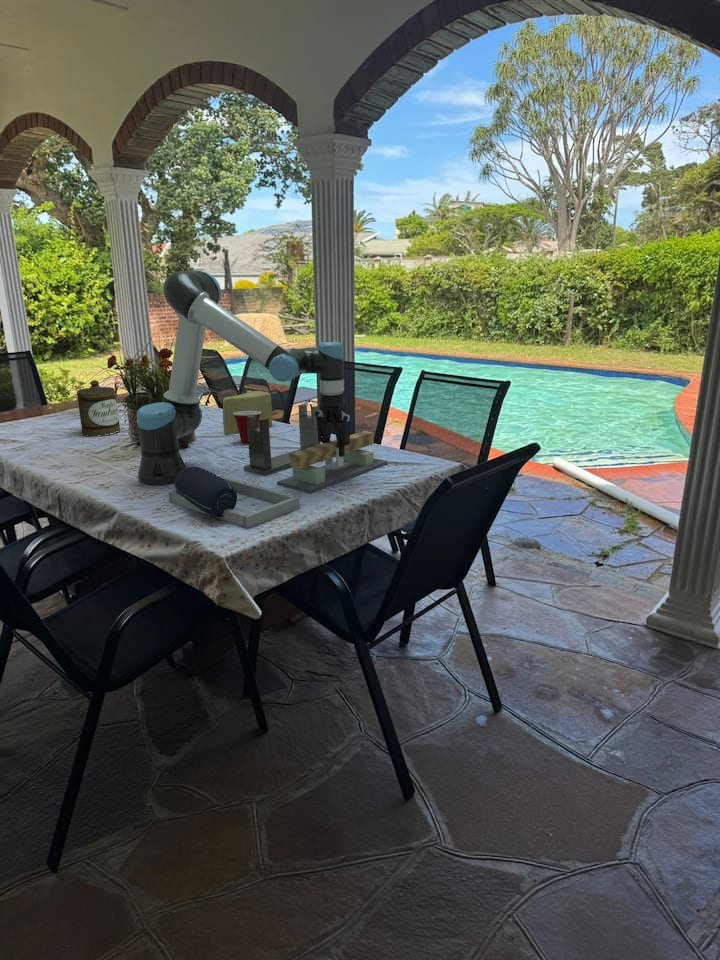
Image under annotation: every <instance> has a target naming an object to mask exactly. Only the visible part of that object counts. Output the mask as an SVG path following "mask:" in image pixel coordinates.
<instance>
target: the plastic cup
mask: <svg viewBox="0 0 720 960" xmlns="http://www.w3.org/2000/svg"><path fill="white" fill-rule="evenodd" d="M260 414H261V412H260V411H239V412H234V413H233V415H234V416H235V419H236V423H237V427H238V431H239V432H238V435H239V437H240V441H241V443H242V444H245V443H248V431H247V417H249V416H256V424H257V428H258V424H259V417H260Z"/></svg>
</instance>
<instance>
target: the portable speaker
mask: <svg viewBox="0 0 720 960" xmlns="http://www.w3.org/2000/svg"><path fill="white" fill-rule="evenodd" d="M219 476H220V475H216V474H215V473H213V472H210V471H208V470H206V469H205V468H201V467H199V466H188V467H187V466H186V468H184V469H183V470H181V471H180V472H179V473H178V474H177V476H176V478H175V482H174V487H175V489H176V491H177V492H178V493H179V494H180V495H182V496H183V497H184V498H185V499H186V500H188V501H189V502H190V503H192V504H193V505H195V506H196V507H198V508H199V509H201V510H202V511H204V512H206V513H207V514H209V515H208V516H210V515H211V517H213V516H214V517H213V518H216V517H223V513H224V512H223V511H224V510H226V509H232V510H235V507H236V506H237V502H238V494H237V493H238V492H236V490H235V488H234V487H233V486H232V485H231V484H230V483H228V482H226V481H224V479H222V478H221V479H220V477H219ZM207 514H206V515H207Z"/></svg>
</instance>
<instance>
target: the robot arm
mask: <svg viewBox="0 0 720 960" xmlns="http://www.w3.org/2000/svg"><path fill="white" fill-rule="evenodd" d="M162 288H163V289H162V290H163V291H162V292H163V297H164V300H165V302H166V303H167V305H169V306H170V308H172V309H173V310H174V313H175V315H176V316H177V318H178V321H177V328H176V336H175V343H174V350H173V351H174V352H173V358H172V365H171V372H170V380H169V388H168V390H167V391H165V392H164V393H163V397H162V402H153V403H150V404H146V405H143V406H141V407H140V408H139V409H138V410H137V411H136V425H137V431H138V440H139V447H140V453H141V458H140V461H139V468H138V472H137V475H138V481H139V482H140V483H141V484H145V485H168V484H172V483H173V484H175V478H176V476H177V474H178V473H179V472H180V471H181V470H183V469H184V468H187V466H186V465H185V462H184V460H183V458H182V455H181V453H180V445H179V439H181V438H183V437H186V436H187V435H190V434H191V433H194V432H195V431H196V430H197V429H198V427H200V425H201V423H202V420H203V411H202V408H201V406H200V398H199V397H198V395H197V388H198V381H199V373H200V367H201V360H202V355H203V349H204V341H205V333H206V328H207V329H208V330H210V331H211V332H212V333H214V334H215V335H217V336H218V337H220V338H221V339H222V340H224V341H226V342H227V343H229V344H230V345H232V346H233V347H234V348H236V349H238V350H239V351H240V352H242V353H243V354H245V355H247V356H248V357H250V358H251V359H252V360H253V361H255V362H257V363H259V364H260V365H261V366H262V367H264V368H266V369H267V371H268V372H269V373H270V376H271V377H272V378H273V380H276V381H278V382H283V383H284V382H287V381H292V380H294V379H295V378H296V377H298V376H302V375H303V374H305V375H306V374H314V375H315V374H316V375H317V374H319V392H320V395H319V396H320V405H321V408H320V409H321V410H320V409H319V411H316V412H315V415H316V418H317V432H318V441H319V442H320V441H321V444H323V443H326V442H329V441H331V437H332V430H333V429H332V428H334V433H335V438H336V439H337V445H338V446H336V457H335V462H336V467H340V466H343V456H344V455H345V446H346V445H349V444H350V435H351V420H352V415H351V414H347V413H346V412H345V410H344V405H345V404H346V403H345V394H344V392H345V377H344V374H345V370H344V367H345V366H344V365H345V364H344V363H345V362H344V361H345V359H344V358H345V356H344V347H343V344H342V343H341V342H339V341H325V342H324V341H322V342H319V344H318V348H285V349H284V348H283V347H281V346H280V345H279V344H278V343H276V342H274V341H273V340H271V339H270V338H268V337H267V336H265V335H264V334H263V333H261V332H260V331H258V330H256V328H254V327H252V326H250V324H248V323H246V322H245V321H243V320H242V319H241V318H239V317H238V316H236V315H235V314H233V313H232V312H230V311H229V310H228V309H226V308H224V307H223V306H222V305H220V304H219V303H220V302H221V298H222V290H221V289H222V288H221V285H220V283H219V281H218V280H217V279H216V277H215V276H214V275H212V274H211V273H208V272H206V271H202V270H198V269H196V270H179V271H175V272H172V273H171V274H170V275H169V276H168V277H167V278H166V279H165V281H164V285H163V287H162ZM336 439H335V440H336ZM324 463H325V464H324V465H328V464H331V463H333V458H330V459H327V460H324Z"/></svg>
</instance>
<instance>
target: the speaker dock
mask: <svg viewBox="0 0 720 960" xmlns="http://www.w3.org/2000/svg"><path fill="white" fill-rule="evenodd" d="M218 476H219V477H220V479H221V478H222V479H224V481H226V482H228V483H230V484H231V485H232V486H233V487H234V488H235V490H236V493H240V494H243V495H247V496H250V497H253V498H257V499H260V500H264V501H268V502H270V503H274V504H271V505H269V506H266V507H264V508H261V509H259V510H258V509H257V510H255V511H253V512H249V513H245V512H241V511H238V510H236V509H233V510H232V509H226V510H224V511H223V512H224V513H223V517H214V516H211V515H209V514H207V513H206V512H204V511H202V510H201V509H199V508H198V507H196V506H195V505H193V504H192V503H190V502H189V501H188V500H186V499H185V498H184V497H183V496H182V495H180V494H179V493H178V492H177V491H176V488H175V489H171V490H169V491H167V496H168V502H169V503H172V504H175V505H179V506H182V507H184V508H187V509H190V510H193V511H196V512H199V513H202V514H204V515H208V516H211V517H213V518H217V519H219V520H223V521H226V522H228V523H232V524H235V525H237V526H241V527H243V528H246V529H250V528H252V527H254V526H257V525H260V524H262V523H265V522H267V521H270V520H272V519H275V518H277V517H280V516H282V515H284V514H287V513H289V512H292V511H295V510H297V509H299V508H301V505H300V504H301V503H300V497H299V496H295V495H292V494H289V493H285V492H282V491H281V492H280V491H277V490H274V489H270V488H266V487H263V486H260V485H257V484H256V485H255V484H252V483H248V482H245V481H242V480H241V481H240V480H237V479H234V478H231V477H226V476H224V475H218Z"/></svg>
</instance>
